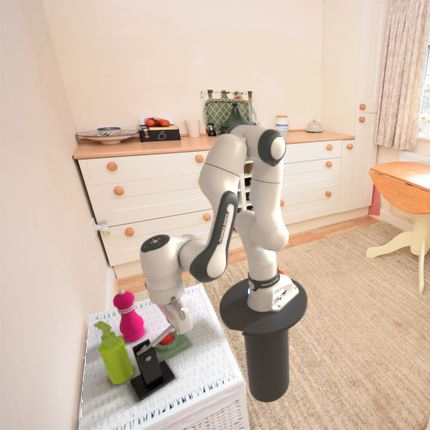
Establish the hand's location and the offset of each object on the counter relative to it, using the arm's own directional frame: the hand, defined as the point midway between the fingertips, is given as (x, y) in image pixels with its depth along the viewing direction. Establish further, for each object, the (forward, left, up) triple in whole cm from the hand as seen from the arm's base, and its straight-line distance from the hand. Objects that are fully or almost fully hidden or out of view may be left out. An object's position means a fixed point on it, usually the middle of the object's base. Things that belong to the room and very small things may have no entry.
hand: (175, 326), depth 88 cm
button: (+1, -9, -12) cm, 15 cm away
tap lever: (+4, 0, -2) cm, 5 cm away
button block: (+1, -9, -15) cm, 18 cm away
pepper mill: (+7, -23, -15) cm, 29 cm away
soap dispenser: (+15, -9, -15) cm, 23 cm away
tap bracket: (+9, 0, -15) cm, 18 cm away
